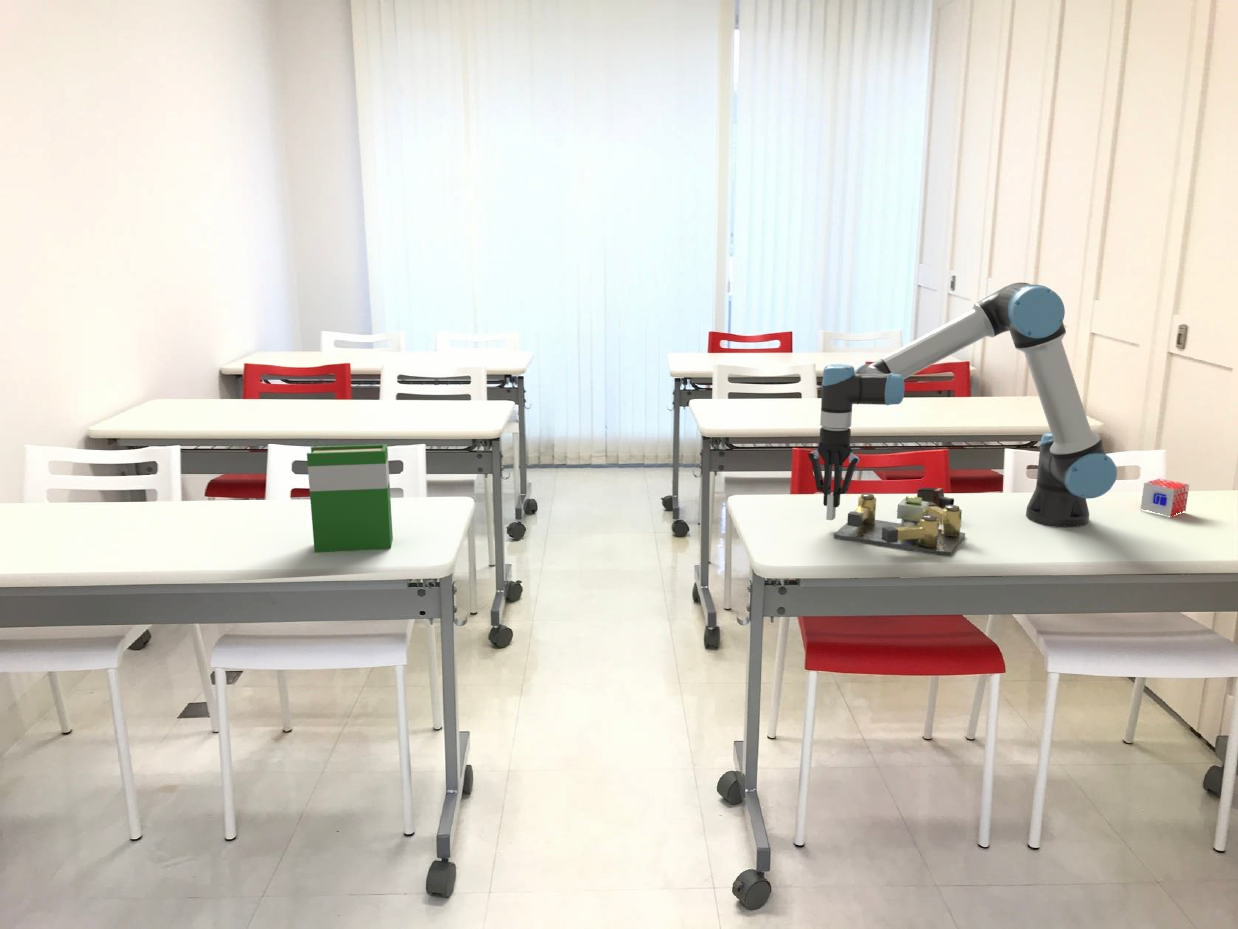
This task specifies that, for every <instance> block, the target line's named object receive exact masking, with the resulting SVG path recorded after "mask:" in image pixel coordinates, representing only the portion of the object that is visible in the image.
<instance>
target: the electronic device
mask: <svg viewBox="0 0 1238 929" xmlns="http://www.w3.org/2000/svg"><path fill="white" fill-rule="evenodd" d="M916 494H917V495H916V497H919V498H922V501H926V502H933V503H935V504H937V507H939V508H941V509H943V508H946V505H955V499H954V497H948V496H945V493H944V489H943V488H942V487H941V488H940V487H921V488H918V489H917V491H916Z"/></svg>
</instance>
